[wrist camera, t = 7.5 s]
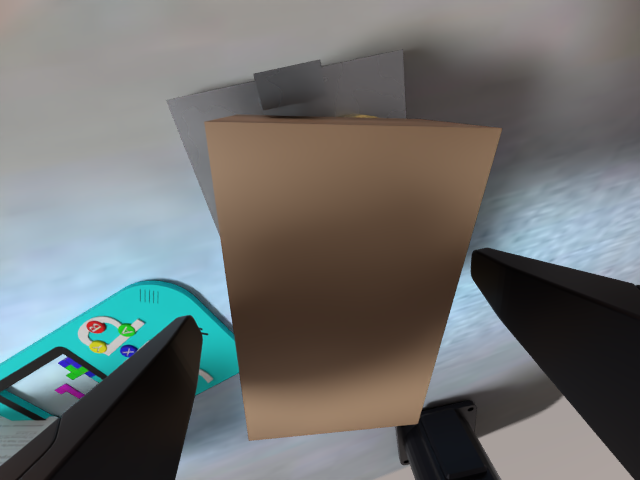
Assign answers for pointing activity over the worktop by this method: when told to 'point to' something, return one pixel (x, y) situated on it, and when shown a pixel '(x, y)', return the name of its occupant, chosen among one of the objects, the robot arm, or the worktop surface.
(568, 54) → the worktop surface
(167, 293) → the handheld gaming console
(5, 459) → the skincare box
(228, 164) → the tan block
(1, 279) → the worktop surface
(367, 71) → the chassis
